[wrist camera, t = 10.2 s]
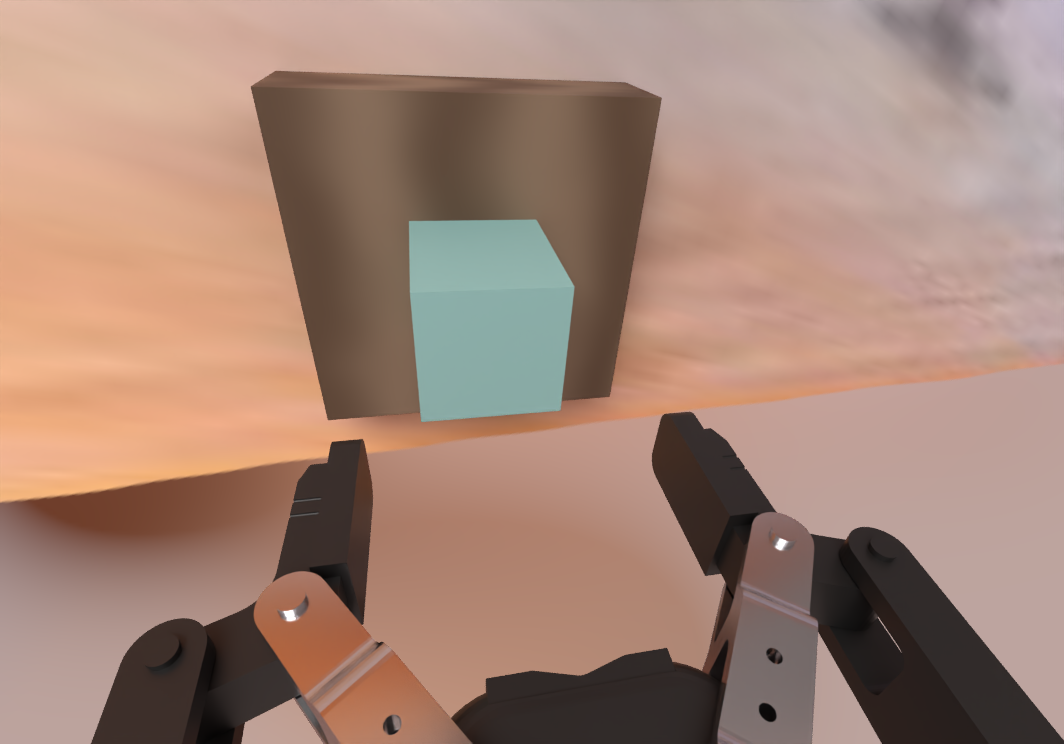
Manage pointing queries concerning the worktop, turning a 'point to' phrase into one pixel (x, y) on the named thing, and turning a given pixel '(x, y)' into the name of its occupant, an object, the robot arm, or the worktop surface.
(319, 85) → the stacking base
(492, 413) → the teal block
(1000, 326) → the worktop surface
